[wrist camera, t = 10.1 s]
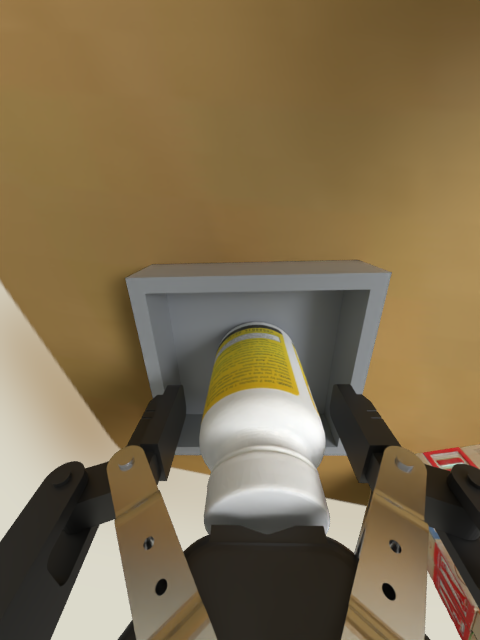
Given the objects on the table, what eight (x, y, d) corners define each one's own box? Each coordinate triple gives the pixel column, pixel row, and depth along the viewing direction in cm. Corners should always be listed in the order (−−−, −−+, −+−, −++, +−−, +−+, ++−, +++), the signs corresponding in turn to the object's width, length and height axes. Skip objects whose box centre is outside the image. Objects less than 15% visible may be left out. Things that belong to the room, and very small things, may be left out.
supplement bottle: (201, 353, 16) (144, 521, 7) (259, 303, 15) (278, 440, 6) (253, 397, 18) (259, 582, 9) (310, 357, 16) (391, 532, 7)
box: (152, 264, 14) (125, 278, 11) (358, 259, 14) (391, 272, 11) (179, 415, 19) (165, 454, 16) (330, 415, 19) (347, 455, 16)
